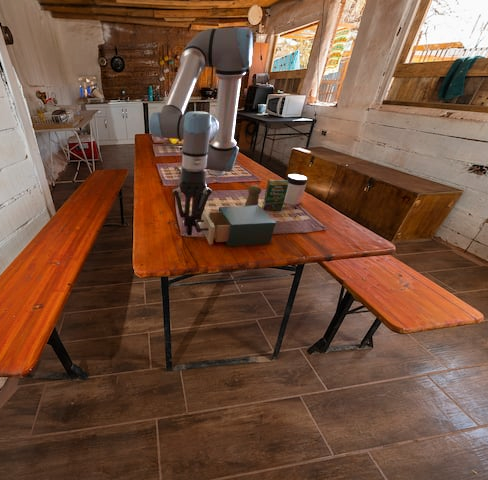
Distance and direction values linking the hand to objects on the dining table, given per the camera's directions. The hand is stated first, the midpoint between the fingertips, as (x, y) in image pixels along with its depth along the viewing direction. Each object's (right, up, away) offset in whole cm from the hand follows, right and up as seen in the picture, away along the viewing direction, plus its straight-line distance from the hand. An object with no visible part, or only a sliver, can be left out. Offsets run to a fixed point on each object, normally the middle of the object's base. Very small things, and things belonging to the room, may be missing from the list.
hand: (188, 233), depth 91 cm
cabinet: (+20, 0, +4) cm, 20 cm away
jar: (+51, +16, +31) cm, 62 cm away
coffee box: (+39, +11, +23) cm, 47 cm away
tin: (+5, +7, +15) cm, 18 cm away
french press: (+22, +39, +65) cm, 79 cm away
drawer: (+11, 0, +2) cm, 11 cm away
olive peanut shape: (+29, +11, +22) cm, 38 cm away
